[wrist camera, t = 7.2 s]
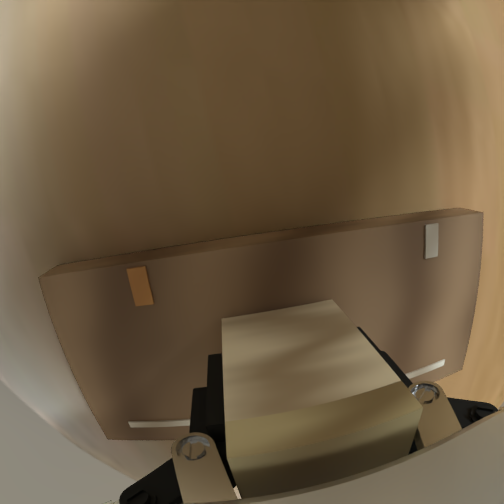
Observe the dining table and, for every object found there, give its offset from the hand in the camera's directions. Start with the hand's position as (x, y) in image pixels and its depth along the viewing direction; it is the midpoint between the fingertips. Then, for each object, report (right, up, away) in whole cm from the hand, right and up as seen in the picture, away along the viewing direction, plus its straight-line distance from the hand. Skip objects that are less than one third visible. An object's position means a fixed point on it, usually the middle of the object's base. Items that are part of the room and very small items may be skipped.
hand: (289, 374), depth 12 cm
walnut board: (0, +1, +4) cm, 4 cm away
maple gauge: (0, 0, +1) cm, 1 cm away
